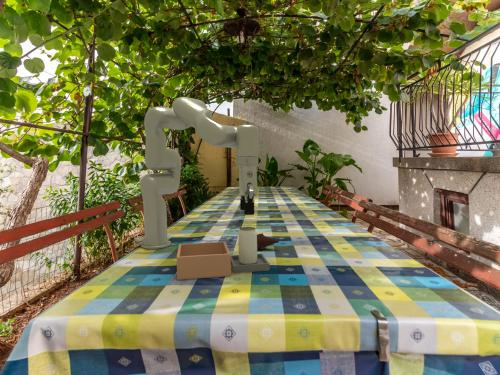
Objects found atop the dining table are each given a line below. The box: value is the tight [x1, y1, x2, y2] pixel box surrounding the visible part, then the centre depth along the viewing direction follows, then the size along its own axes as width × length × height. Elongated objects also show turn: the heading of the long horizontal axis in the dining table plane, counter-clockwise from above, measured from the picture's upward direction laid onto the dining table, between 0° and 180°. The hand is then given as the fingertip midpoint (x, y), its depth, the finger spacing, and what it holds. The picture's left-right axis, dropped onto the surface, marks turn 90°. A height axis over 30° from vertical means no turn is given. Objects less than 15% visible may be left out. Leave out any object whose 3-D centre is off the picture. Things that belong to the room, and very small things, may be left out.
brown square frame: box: [176, 241, 232, 281], centre depth 107 cm, size 17×17×7 cm
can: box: [237, 226, 258, 265], centre depth 111 cm, size 6×6×12 cm
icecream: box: [257, 232, 280, 251], centre depth 131 cm, size 7×7×15 cm
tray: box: [231, 253, 271, 274], centre depth 110 cm, size 12×12×2 cm
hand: (246, 212), depth 109 cm, fingers open, 9 cm apart
